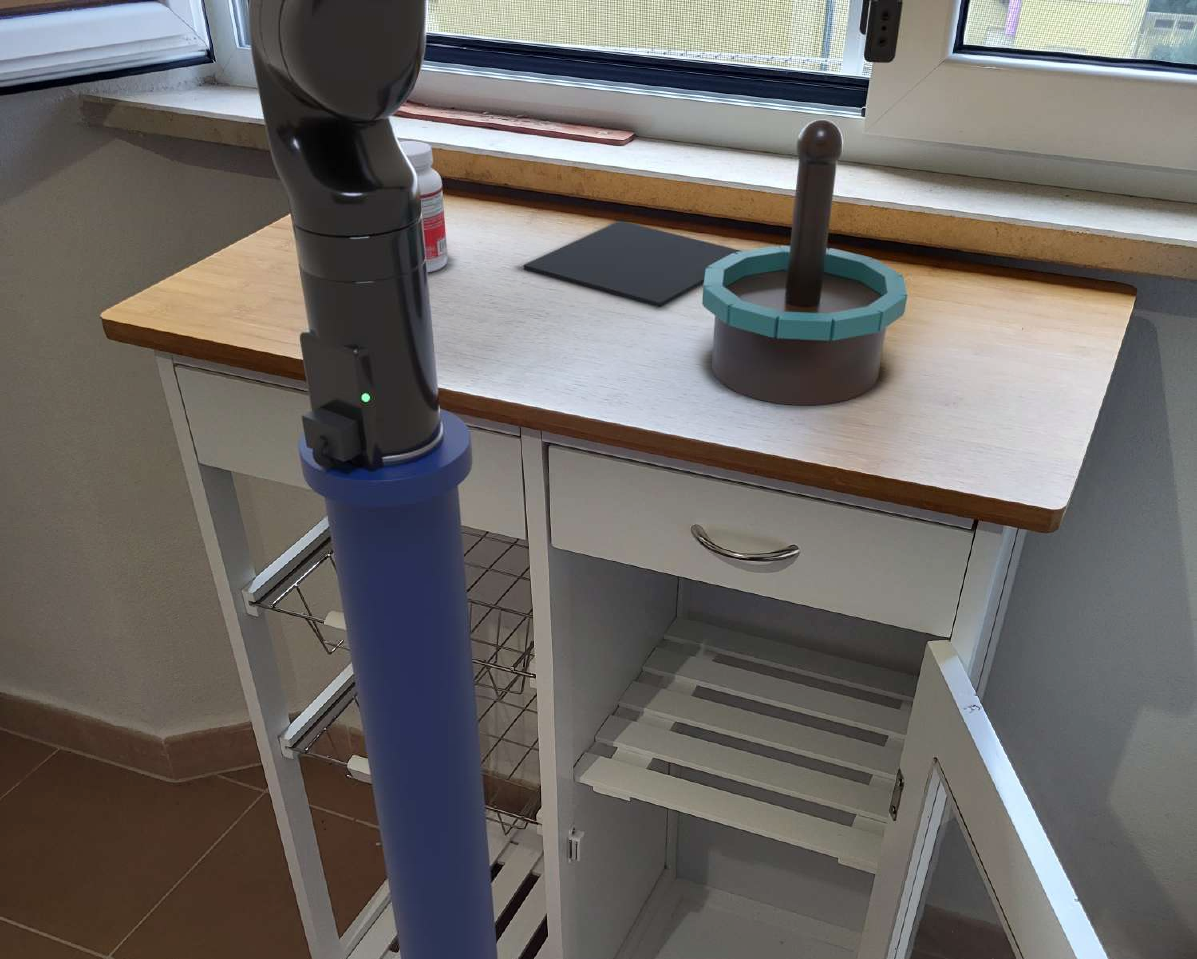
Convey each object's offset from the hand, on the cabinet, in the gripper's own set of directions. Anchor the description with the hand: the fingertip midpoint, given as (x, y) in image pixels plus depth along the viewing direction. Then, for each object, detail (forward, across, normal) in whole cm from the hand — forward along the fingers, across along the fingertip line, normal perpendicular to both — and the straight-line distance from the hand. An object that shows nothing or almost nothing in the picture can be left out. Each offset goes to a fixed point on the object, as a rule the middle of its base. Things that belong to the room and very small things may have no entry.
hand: (875, 47), depth 91 cm
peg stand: (+25, 0, -3) cm, 25 cm away
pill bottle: (+25, -22, -42) cm, 53 cm away
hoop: (+19, 0, -3) cm, 19 cm away
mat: (+25, -25, -19) cm, 40 cm away
